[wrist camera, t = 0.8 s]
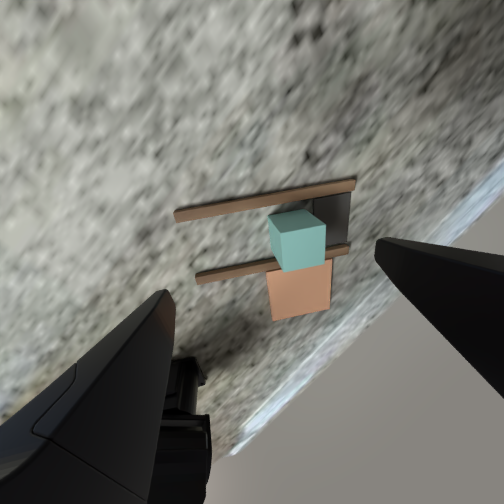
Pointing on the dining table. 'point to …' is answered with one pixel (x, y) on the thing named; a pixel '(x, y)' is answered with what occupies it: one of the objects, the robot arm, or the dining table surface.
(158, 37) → the dining table surface
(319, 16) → the dining table surface
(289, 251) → the block
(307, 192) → the chute
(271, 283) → the tile
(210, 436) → the robot arm
